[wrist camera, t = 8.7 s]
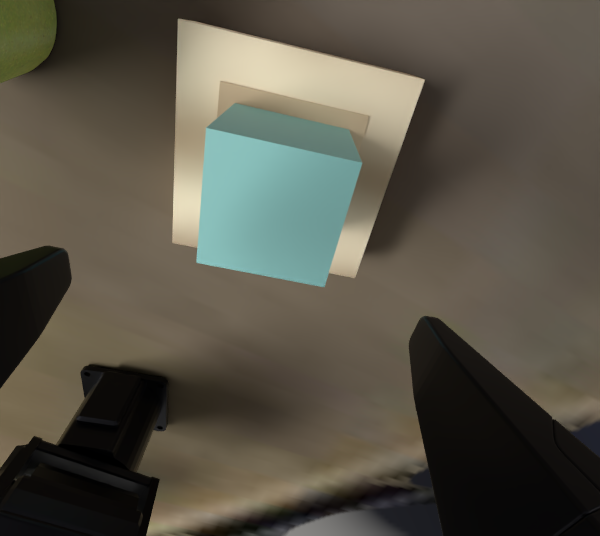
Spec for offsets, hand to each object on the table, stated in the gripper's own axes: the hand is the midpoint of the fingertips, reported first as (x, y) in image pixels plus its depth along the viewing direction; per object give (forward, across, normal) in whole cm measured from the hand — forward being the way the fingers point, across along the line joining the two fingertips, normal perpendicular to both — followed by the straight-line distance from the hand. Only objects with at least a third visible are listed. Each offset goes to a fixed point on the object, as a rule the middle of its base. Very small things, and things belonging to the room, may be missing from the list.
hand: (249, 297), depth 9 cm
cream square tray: (+12, 0, 0) cm, 12 cm away
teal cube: (+9, 0, 0) cm, 9 cm away
